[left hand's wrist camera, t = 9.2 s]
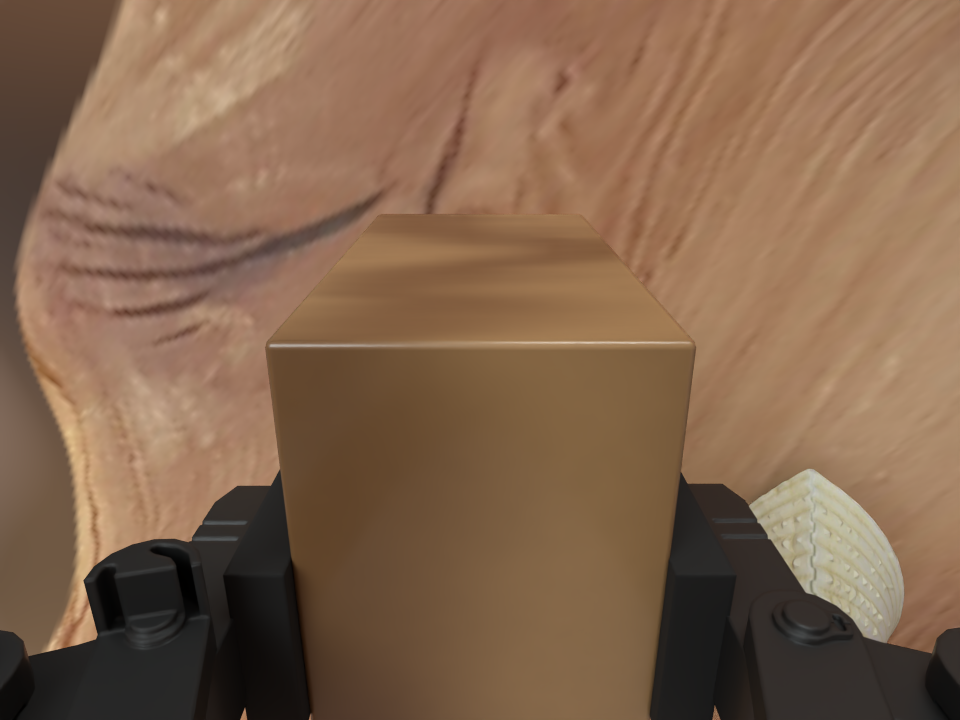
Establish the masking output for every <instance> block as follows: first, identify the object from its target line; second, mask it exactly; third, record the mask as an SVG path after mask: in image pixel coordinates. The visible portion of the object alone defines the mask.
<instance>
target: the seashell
mask: <svg viewBox="0 0 960 720" xmlns="http://www.w3.org/2000/svg"><path fill="white" fill-rule="evenodd" d="M749 507H750V509H751V510H752V512H753V513H754V515H755V516H756V518H757V522H758V523H760V524H761V525H762V527H763V529H764V530H765V532H766V533H767V535H768V539H771V541H772V542H773V544H774V545H775V547H776V548H777V550H778V551H779V553H780V554H781V556H782V557H783V559H784V560H785V562H786V563H787V565H788V566H789V568H790V569H791V571H792V572H793V574H794V575H795V577H796V578H797V580H798V581H799V583H800V584H801V586H802V587H803V589H804V590H805V592H806V593H809V594H813V595H816V596H818V597H820V598H822V599H824V600H826V601H828V602H830V603H832V604H834V605H836V606H837V607H839V608H840V609H841V610H842V611H844V612H845V613H846V614H847V615H848V616H850V617H851V618H852V619H853V620H854V622H855V623H856V625H857V627H858V628H859V630H860V631H861V633H862V634H863V637H866V638H870V639H873V640H876V641H880V642H883V643H887V641H888V639H889V637H890V636H891V635H892V633H893V631H894V630H895V628H896V626H897V624H898V622H899V620H900V617H901V613H902V608H903V601H904V583H903V577H902V572H901V568H900V565H899V562H898V559H897V557H896V555H895V553H894V551H893V549H892V547H891V545H890V543H889V541H888V539H887V538H886V536H885V535H884V533H883V532H882V531H881V529H880V528H879V527H878V525H877V524H876V523H875V521H874V520H873V519H872V518H871V517H870V516H869V515H868V514H867V513H866V512H865V510H864V509H863V508H862V507H861V506H860V505H859V504H858V503H857V502H856V501H854V500H853V499H852V498H851V497H850V496H848V495H847V494H846V493H845V492H844V491H842V490H841V489H840V488H839V487H837V486H836V485H834V484H832V483H831V482H830V481H828V480H827V479H826V478H824V477H823V476H822V475H821V474H819V473H818V472H817V471H815V470H814V469H807V470H805V471H802V472H800V473H799V474H797V475H795V476H794V477H792V478H791V479H789V480H787V481H784V482H782V483H781V484H780V485H778V486H777V487H776V488H774V489H772V490H770V491H769V492H768V493H767V494H765V495H762V496H761V497H759V498H758V499H757V500H756V501H754V502H753V503H752V504H750V505H749Z"/></svg>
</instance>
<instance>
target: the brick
mask: <svg viewBox="0 0 960 720" xmlns="http://www.w3.org/2000/svg"><path fill="white" fill-rule="evenodd" d="M265 350H266V358H267V366H268V374H269V382H270V390H271V398H272V406H273V414H274V423H275V431H276V439H277V447H278V455H279V463H280V471H281V479H282V487H283V495H284V504H285V512H286V520H287V528H288V536H289V544H290V552H291V559H292V567H293V575H294V583H295V591H296V599H297V607H298V615H299V623H300V632H301V640H302V648H303V656H304V664H305V672H306V680H307V688H308V696H309V705H310V714H311V720H650V708H651V700H652V692H653V684H654V676H655V668H656V660H657V652H658V644H659V636H660V628H661V620H662V612H663V604H664V595H665V587H666V579H667V571H668V563H669V558H670V553H671V545H672V537H673V529H674V521H675V513H676V505H677V497H678V489H679V481H680V473H681V465H682V457H683V449H684V441H685V433H686V425H687V417H688V409H689V401H690V393H691V385H692V377H693V369H694V361H695V353H696V346H695V342H694V341H693V340H692V339H691V338H690V336H689V335H688V334H687V333H686V332H685V331H684V330H683V329H682V327H681V326H680V325H679V324H678V323H677V322H676V321H675V320H674V318H673V317H672V316H671V315H670V314H669V313H668V312H667V310H666V309H665V308H664V307H663V306H662V305H661V304H660V303H659V301H658V300H657V299H656V298H655V297H654V296H653V295H652V294H651V292H650V291H649V290H648V289H647V288H646V287H645V286H644V285H643V283H642V282H641V281H640V280H639V279H638V278H637V277H636V276H635V274H634V273H633V272H632V271H631V270H630V269H629V268H628V267H627V265H626V264H625V263H624V262H623V261H622V260H621V259H620V258H619V256H618V255H617V254H616V253H615V252H614V251H613V250H612V249H611V247H610V246H609V245H608V244H607V243H606V242H605V241H604V240H603V238H602V237H601V236H600V235H599V234H598V233H597V232H596V231H595V229H594V228H593V227H592V226H591V225H590V224H589V223H588V222H587V220H586V219H585V218H584V217H583V216H582V215H580V214H381V215H379V216H378V217H377V218H376V219H375V220H374V221H373V222H372V223H371V225H370V226H369V227H368V228H367V229H366V230H365V231H364V233H363V234H362V235H361V236H360V237H359V238H358V239H357V240H356V242H355V243H354V244H353V245H352V246H351V247H350V248H349V250H348V251H347V252H346V253H345V254H344V255H343V256H342V257H341V259H340V260H339V261H338V262H337V263H336V264H335V265H334V266H333V268H332V269H331V270H330V271H329V272H328V273H327V274H326V276H325V277H324V278H323V279H322V280H321V281H320V282H319V283H318V285H317V286H316V287H315V288H314V289H313V290H312V291H311V293H310V294H309V295H308V296H307V297H306V298H305V299H304V300H303V302H302V303H301V304H300V305H299V306H298V307H297V308H296V310H295V311H294V312H293V313H292V314H291V315H290V316H289V317H288V319H287V320H286V321H285V322H284V323H283V324H282V325H281V327H280V328H279V329H278V330H277V331H276V332H275V333H274V334H273V336H272V337H271V338H270V339H269V340H268V341H267V344H266V347H265Z"/></svg>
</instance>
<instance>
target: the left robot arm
mask: <svg viewBox="0 0 960 720" xmlns="http://www.w3.org/2000/svg"><path fill="white" fill-rule="evenodd" d="M84 584H85V588H86V592H87V595H88V599H89V603H90V607H91V611H92V614H93V618H94V622H95V626H96V630H97V633H98V636H97V638H96V640H93V641H89V642H86V643H83V644H79V645H76V646H71V647H67V648H62V649H58V650H54V651H49V652H45V653H41V654H37V655H32V656H28V654H27V651H26V648H25V645H24V641H23V640H22V639H20V638H19V637H18V636H17V635H16V634H14V633H13V632H8V631H1V630H0V720H240V719H241V716H242V714H243V711H244V708H245V709H246V715H247V720H309V717H310V705H309V696H308V688H307V680H306V672H305V664H304V656H303V648H302V640H301V632H300V623H299V615H298V607H297V599H296V591H295V583H294V575H293V567H292V559H291V552H290V544H289V536H288V528H287V520H286V512H285V504H284V495H283V487H282V479H281V471H280V470H279V472H278V474H277V476H276V478H275V479H274V481H273V483H272V485H271V486H237V487H235V488H234V489H233V490H231V491H230V492H229V493H227V494H226V495H225V496H223V497H222V498H220V499H219V500H218V501H216V502H215V503H214V505H213V506H212V508H211V509H210V511H209V512H208V514H207V515H206V517H205V518H204V520H203V524H202V525H200V526H199V528H198V529H197V531H196V532H195V534H194V535H193V537H192V541H189V542H185V541H181V540H177V539H154V540H150V541H145V542H141V543H137V544H133V545H130V546H128V547H126V548H124V549H121V550H119V551H117V552H115V553H112V554H111V555H109V556H108V557H106V558H105V559H104V560H102V561H101V562H100V563H98V564H97V565H95V566H94V567H93V569H92V570H91V571H90V573H89V574H88V575H87V577H86V578H85V579H84ZM714 706H716V709H717V711H718V714H719V716H720V719H721V720H960V628H954V629H948V630H946V631H945V632H944V633H942V634H941V635H940V636H939V637H938V638H937V640H936V643H935V646H934V649H933V652H932V654H931V653H927V652H923V651H918V650H914V649H909V648H905V647H901V646H896V645H892V644H888V643H883V642H880V641H876V640H873V639H870V638H866V637H863V634H862V633H861V631H860V630H859V628H858V627H857V625H856V623H855V622H854V620H853V619H852V618H851V617H850V616H848V615H847V614H846V613H845V612H844V611H842V610H841V609H840V608H839V607H837V606H836V605H834V604H832V603H830V602H828V601H826V600H824V599H822V598H820V597H818V596H816V595H813V594H809V593H806V592H805V590H804V589H803V587H802V586H801V584H800V583H799V581H798V580H797V578H796V577H795V575H794V574H793V572H792V571H791V569H790V568H789V566H788V565H787V563H786V562H785V560H784V559H783V557H782V556H781V554H780V553H779V551H778V550H777V548H776V547H775V545H774V544H773V542H772V541H771V539H768V535H767V533H766V532H765V530H764V529H763V527H762V525H761V524H760V523H758V522H757V518H756V516H755V515H754V513H753V512H752V510H751V509H750V507H749V506H748V504H747V503H746V501H745V500H744V499H742V498H741V497H740V496H738V495H737V494H736V493H734V492H733V491H731V490H730V489H729V488H727V487H726V486H724V485H723V484H687V482H686V480H685V478H684V477H683V475H682V473H680V481H679V489H678V497H677V505H676V513H675V521H674V529H673V537H672V545H671V553H670V558H669V563H668V571H667V579H666V587H665V595H664V604H663V612H662V620H661V628H660V636H659V644H658V652H657V660H656V668H655V676H654V684H653V692H652V700H651V708H650V718H651V720H712V718H713V712H714Z"/></svg>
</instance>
